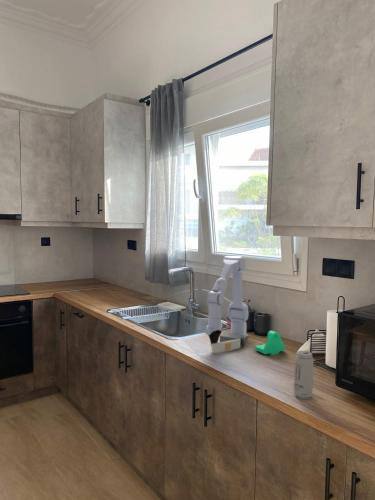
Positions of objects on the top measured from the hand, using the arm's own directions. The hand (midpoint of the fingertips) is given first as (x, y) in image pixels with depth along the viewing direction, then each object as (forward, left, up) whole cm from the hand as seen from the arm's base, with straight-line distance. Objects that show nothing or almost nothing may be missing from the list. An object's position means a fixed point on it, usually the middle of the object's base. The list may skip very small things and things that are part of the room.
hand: (214, 346), depth 177 cm
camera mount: (-13, +22, -3) cm, 26 cm away
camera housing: (-14, +3, -2) cm, 15 cm away
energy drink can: (+28, +45, -3) cm, 53 cm away
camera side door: (-4, +5, -2) cm, 6 cm away
